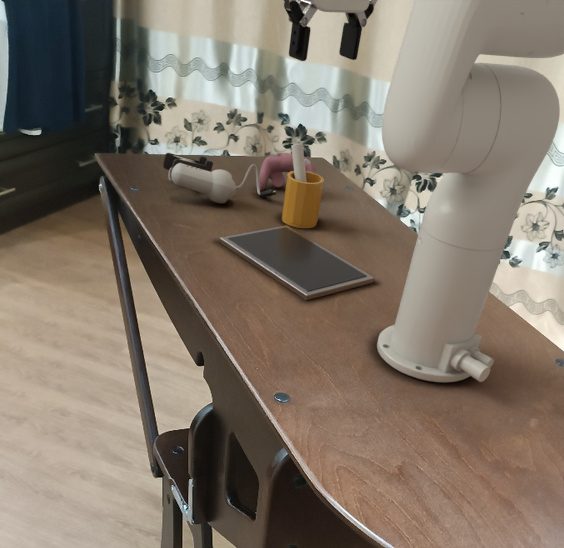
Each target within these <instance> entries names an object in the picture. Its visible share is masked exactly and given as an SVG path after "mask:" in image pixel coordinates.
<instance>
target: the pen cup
mask: <svg viewBox="0 0 564 548" xmlns="http://www.w3.org/2000/svg"><path fill="white" fill-rule="evenodd" d="M306 180H307V182H302V181H298V180H295V175H294V171H291V172H287V174H286V180H285V189H284V198H283V203H282V205H283V206H282V211H281V212H282V213H281V221H282V222H283V223H284V224H285V225H287V226H289V227H291V228H292V227H293V228H297V229H313V228H315V227H316V226H317V224H318V222H319V221H318V220H319V214H320V209H321V204H322V203H321V201H322V197H323V191H324V183H325V178H324V177H323V176H322V175H320V174H318V173H316V174H315V173H312V172H308V171H306Z"/></svg>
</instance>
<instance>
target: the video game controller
mask: <svg viewBox="0 0 564 548" xmlns="http://www.w3.org/2000/svg"><path fill="white" fill-rule="evenodd" d="M304 161H305V171H308V172H312V173H315V174H317V171H316V170H317V169H316V167H315V165H314V164H313V163H312V162H311V161H310V160H309V159H308V158H305V157H304ZM291 171H294V166H293V157H292V153H288V152H278V153H270V154H269V155H268V156H266V158H264V160H263V161H262V164H261V166H260V170H259V173H258V177H259V189H260V192H263V191H265V189H266V187H267V184H268V183H269V180H271V183H272V186H273V187H274V188H275V189H276V188H277V189H281V188H283V187H284V185H285V184H286V180H285V176H284V174H283V173H289V172H291Z"/></svg>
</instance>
